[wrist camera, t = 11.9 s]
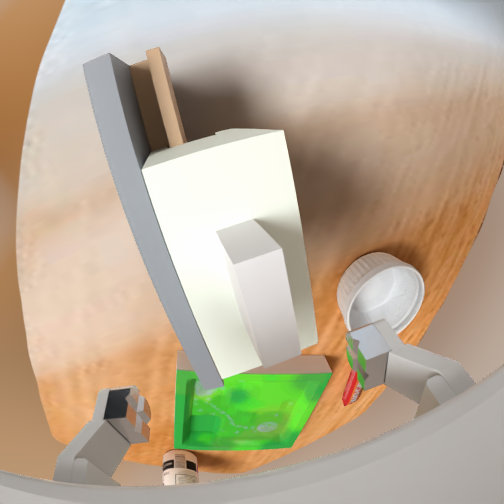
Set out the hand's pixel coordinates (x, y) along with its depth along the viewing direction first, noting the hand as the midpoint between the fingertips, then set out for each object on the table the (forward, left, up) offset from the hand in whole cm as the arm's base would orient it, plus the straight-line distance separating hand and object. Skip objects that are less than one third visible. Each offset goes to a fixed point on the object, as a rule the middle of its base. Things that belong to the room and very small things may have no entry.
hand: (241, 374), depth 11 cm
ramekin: (+20, +19, -29) cm, 40 cm away
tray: (+39, -6, -29) cm, 49 cm away
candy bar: (+42, +17, -29) cm, 54 cm away
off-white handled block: (0, 0, -19) cm, 19 cm away
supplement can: (+57, -26, -29) cm, 69 cm away
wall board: (0, -5, -29) cm, 29 cm away
